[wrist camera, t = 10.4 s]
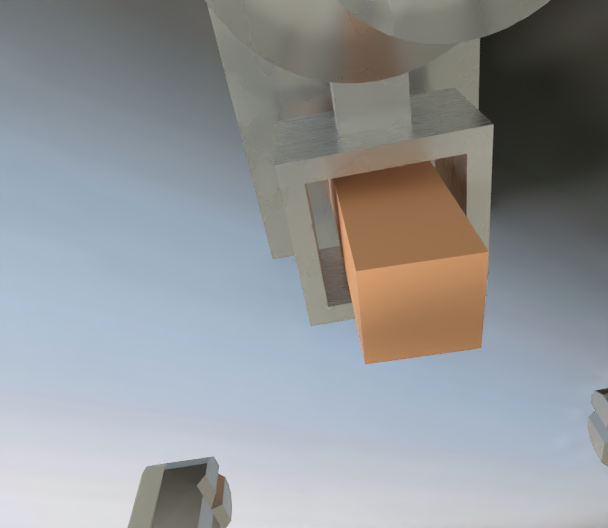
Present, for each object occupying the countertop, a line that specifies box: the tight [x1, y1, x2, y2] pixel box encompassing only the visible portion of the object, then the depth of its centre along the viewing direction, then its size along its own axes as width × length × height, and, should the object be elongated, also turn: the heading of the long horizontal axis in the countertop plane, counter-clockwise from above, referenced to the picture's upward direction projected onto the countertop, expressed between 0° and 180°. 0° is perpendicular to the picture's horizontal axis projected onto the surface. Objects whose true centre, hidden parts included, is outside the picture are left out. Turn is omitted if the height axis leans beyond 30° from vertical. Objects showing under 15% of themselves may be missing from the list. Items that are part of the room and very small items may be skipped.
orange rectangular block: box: [329, 160, 489, 364], centre depth 18 cm, size 4×4×10 cm
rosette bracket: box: [205, 0, 550, 326], centre depth 14 cm, size 18×10×15 cm, turn 10°
